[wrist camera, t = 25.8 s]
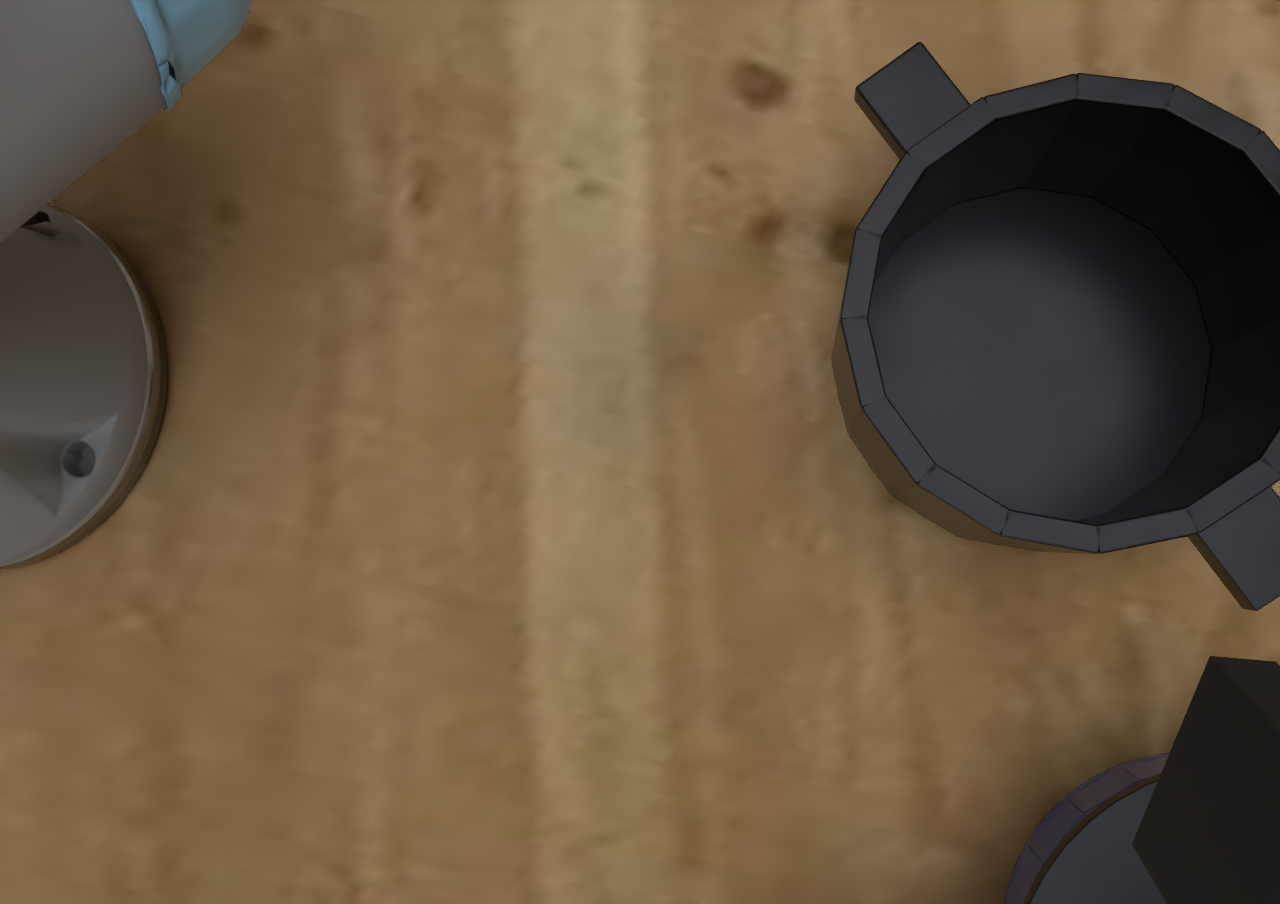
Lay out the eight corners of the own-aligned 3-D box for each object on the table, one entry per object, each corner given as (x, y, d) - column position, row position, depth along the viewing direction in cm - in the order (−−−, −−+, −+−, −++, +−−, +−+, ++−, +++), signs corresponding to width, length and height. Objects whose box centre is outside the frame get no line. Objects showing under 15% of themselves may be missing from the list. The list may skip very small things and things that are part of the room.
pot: (1028, 686, 38) (1093, 727, 30) (720, 260, 41) (700, 188, 33) (1362, 466, 37) (1525, 444, 29) (1024, 44, 40) (1083, -87, 32)
